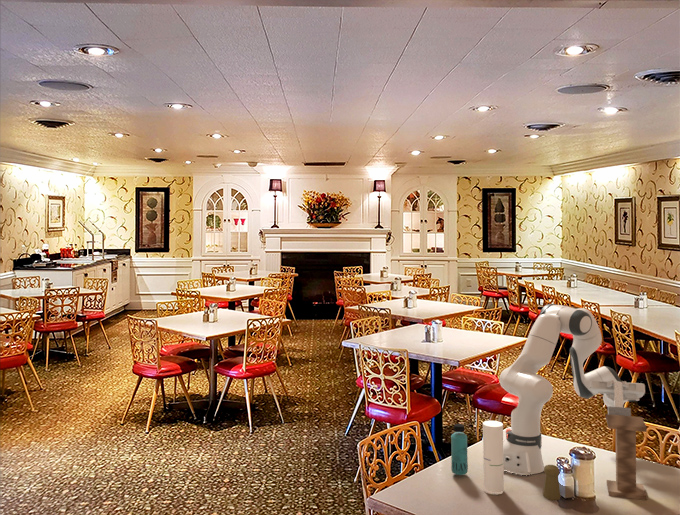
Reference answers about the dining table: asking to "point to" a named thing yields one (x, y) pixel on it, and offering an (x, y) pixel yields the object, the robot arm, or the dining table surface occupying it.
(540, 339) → the robot arm
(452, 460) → the beverage bottle
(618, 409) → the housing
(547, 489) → the olive shaker
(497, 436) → the cylindrical container
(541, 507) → the dining table surface
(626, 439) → the stand
